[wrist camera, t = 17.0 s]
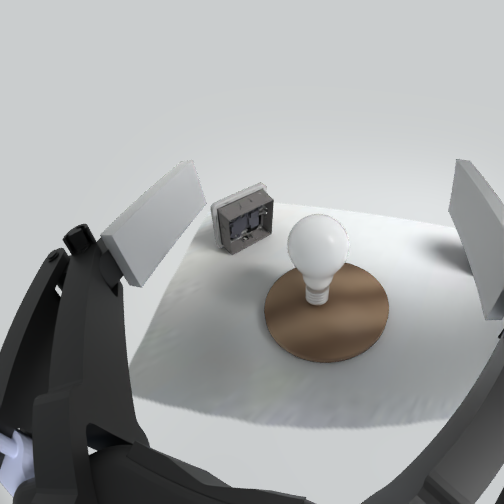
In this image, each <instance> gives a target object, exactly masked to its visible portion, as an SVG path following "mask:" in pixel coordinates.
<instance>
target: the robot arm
mask: <svg viewBox="0 0 504 504" xmlns="http://www.w3.org/2000/svg"><path fill="white" fill-rule="evenodd" d="M206 204H207V203H206V201H205V197H204V194H203V191H202V187H201V184H200V181H199V178H198V175H197V171H196V168H195V165H194V161H193V160H190V161H182V162H180V163H179V164H178V165H177V166H175V167H174V168H173V169H172V170H171V171H169V172H168V173H167V174H166V175H164V176H163V177H162V178H161V179H160V180H159V181H157V182H156V183H155V184H154V185H153V186H152V187H150V188H149V189H148V190H147V191H146V192H145V193H144V194H143V195H141V196H140V197H139V198H138V199H137V200H136V201H135V202H134V203H133V204H132V205H131V206H129V208H127V209H126V210H125V211H124V212H123V213H122V214H121V215H120V216H119V217H118V218H117V219H116V220H115V221H114V222H113V223H112V224H111V225H110V226H109V227H108V228H107V229H106V230H105V231H104V232H103V233H102V234H101V235H100V236H101V238H100V239H99V240H98V241H97V242H96V240H95V238H94V237H93V235H92V233H91V231H90V229H89V227H88V226H87V224H81V225H78V226H76V227H75V228H73V229H72V230H70V231H69V232H68V233H67V234H66V235H65V236H64V238H63V241H64V243H65V244H66V246H67V248H68V249H69V251H70V253H71V254H72V255H71V256H68V255H67V253H66V252H65V250H64V249H63V248H59V249H57V250H54V251H52V252H51V253H50V254H49V255H48V257H47V258H46V259H45V261H44V262H43V264H42V266H41V267H40V269H39V271H38V273H37V274H36V276H35V278H34V280H33V282H32V283H31V285H30V287H29V289H28V291H27V293H26V295H25V297H24V299H23V301H22V303H21V305H20V307H19V309H18V311H17V313H16V316H15V318H14V320H13V322H12V325H11V327H10V329H9V331H8V334H7V336H6V339H5V341H4V344H3V346H2V349H1V352H0V482H1V483H2V485H3V486H4V487H5V489H6V490H7V491H8V492H9V493H10V495H12V497H13V504H315V503H313V502H311V501H309V500H306V497H301V496H296V495H290V494H285V493H280V492H275V491H270V490H259V489H243V488H232V487H231V486H229V485H227V484H226V483H224V482H223V481H221V480H219V479H218V478H216V477H215V476H213V475H212V474H210V473H209V472H207V471H205V470H202V469H200V468H198V467H195V466H192V465H190V464H188V463H185V462H182V461H181V460H178V459H176V458H173V457H171V456H168V455H166V454H163V453H161V452H159V451H156V450H154V449H152V448H150V446H149V442H148V439H147V437H146V435H145V433H144V431H143V430H142V429H141V427H140V426H139V424H138V422H137V420H136V416H135V411H134V405H133V398H132V392H131V385H130V377H129V369H128V360H127V350H126V339H125V325H124V306H123V286H122V284H121V282H120V279H121V277H122V276H123V275H124V277H125V279H126V280H127V281H128V283H129V285H132V286H136V287H142V286H143V285H144V284H145V282H146V281H147V279H148V278H149V277H150V275H151V274H152V273H153V271H154V270H155V268H156V267H157V266H158V264H159V263H160V262H161V261H162V259H163V258H164V257H165V255H166V254H167V253H168V251H169V250H170V249H171V248H172V246H173V245H174V244H175V242H176V241H177V240H178V239H179V237H180V236H181V235H182V233H183V232H184V231H185V230H186V228H187V227H188V226H189V225H190V223H191V222H192V221H193V220H194V218H195V217H196V216H197V215H198V213H199V212H200V211H201V210H202V209H203V207H204V206H205V205H206ZM449 213H450V215H451V218H452V220H453V222H454V225H455V227H456V229H457V232H458V234H459V237H460V239H461V242H462V244H463V247H464V250H465V253H466V255H467V258H468V261H469V264H470V267H471V270H472V273H473V276H474V280H475V283H476V286H477V290H478V293H479V297H480V301H481V305H482V309H483V313H484V317H485V320H502V318H503V317H504V204H503V203H502V201H501V200H500V198H499V197H498V196H497V194H496V193H495V192H494V190H493V189H492V188H491V186H490V185H489V184H488V182H487V181H486V180H485V179H484V177H483V176H482V175H481V174H480V172H479V171H478V170H477V169H476V168H475V166H474V165H473V164H472V163H471V162H470V161H467V160H460V159H456V166H455V174H454V181H453V187H452V193H451V199H450V205H449ZM56 285H58V287H59V288H60V289H61V291H62V295H61V297H60V296H59V294H58V293H57V292H56V290H55V287H56ZM498 338H500V340H499V342H498V344H497V346H496V348H495V350H494V352H493V354H492V355H491V357H490V359H489V361H488V363H487V364H486V366H485V368H484V370H483V371H482V373H481V375H480V376H479V378H478V379H477V381H476V383H475V384H474V386H473V387H472V389H471V390H470V392H469V393H468V395H467V396H466V398H465V399H464V401H463V402H462V403H461V405H460V406H459V408H458V409H457V410H456V412H455V413H454V414H453V416H452V417H451V418H450V420H449V421H448V422H447V423H446V425H445V426H444V427H443V428H442V430H441V431H440V432H439V433H438V434H437V436H436V437H435V438H434V439H433V440H432V441H431V443H430V444H429V445H428V446H427V447H426V448H425V449H424V450H423V451H422V452H421V454H420V455H419V456H418V457H417V458H416V459H415V460H414V461H413V462H412V463H411V464H410V465H409V466H408V467H407V468H406V469H405V470H404V471H403V472H402V473H401V474H400V475H398V476H397V477H396V478H395V479H394V480H393V481H392V482H391V483H389V484H388V485H387V486H386V487H384V488H382V489H381V490H379V491H378V492H376V493H375V494H373V495H372V496H370V497H369V498H368V499H366V500H365V501H364V502H362V503H361V504H475V502H476V501H477V500H478V499H479V497H480V496H481V494H482V493H483V492H484V491H485V489H486V488H487V487H488V486H489V484H490V483H491V481H492V480H493V479H494V477H495V476H496V474H497V473H498V471H499V470H500V468H501V467H502V465H503V464H504V329H503V331H502V332H501V334H500V335H499V336H498ZM17 428H20V430H19V429H17ZM87 446H88V447H91V448H93V449H95V450H97V452H95V453H93V454H91V455H89V454H88V447H87ZM495 504H504V488H503V490H502V492H501V494H500V495H499V497H498V499H497V501H496V503H495Z"/></svg>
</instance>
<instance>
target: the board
mask: <svg viewBox="0 0 504 504" xmlns="http://www.w3.org/2000/svg"><path fill="white" fill-rule="evenodd" d="M264 313H265V319H266V324H267V327H268V330H269V332H270V334H271V335H272V337H273V338H274V340H275V341H276V342H277V343H278V344H279V345H280V346H281V347H282V348H283V349H285V350H286V351H287V352H289V353H291V354H292V355H294V356H296V357H299V358H301V359H304V360H308V361H312V362H320V363H332V362H340V361H344V360H348V359H351V358H353V357H356V356H358V355H360V354H361V353H363V352H365V351H366V350H368V349H369V348H370V347H371V346H372V345H373V344H374V343H375V342H376V341H377V340H378V339H379V337H380V336H381V334H382V332H383V330H384V328H385V325H386V322H387V319H388V313H389V303H388V298H387V295H386V293H385V291H384V289H383V287H382V286H381V284H380V283H379V282H378V280H377V279H376V278H375V277H373V276H372V275H371V274H370V273H368V272H367V271H365V270H363V269H361V268H359V267H357V266H354V265H352V264H348V263H344V265H343V266H342V267H341V268H340V269H339V270H338V271H337V272H336V273H335V274H334V276H333V279H332V281H331V283H330V285H329V296H328V300H327V302H326V303H324V304H322V305H312V304H310V303H308V302H307V300H306V284H305V282H304V280H303V276H302V274H301V272H300V271H299V270H298V269H297V268H294V269H292V270H290V271H288V272H287V273H285V274H284V275H283V276H281V277H280V278H279V279H278V280H277V281H276V282H275V283H274V285H273V286H272V287H271V289H270V291H269V293H268V295H267V297H266V301H265V308H264Z"/></svg>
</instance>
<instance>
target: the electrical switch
mask: <svg viewBox="0 0 504 504" xmlns="http://www.w3.org/2000/svg"><path fill="white" fill-rule="evenodd" d="M266 188H267V187H266V185H264V184H263V183H261V182H260V183H258V184H255V185H253V186H251V187H248V188H246V189H244V190H242V191H239V192H237V193H235V194H232V195H230V196H228V197H226V198H224V199H221V200H219V201H217V202H215V203H213V204H212V205H211V214H212V221H213V227H214V233H215V239H216V244H217V246H218V247H219V248H222V247H225V248H226V249H227V250H228V251H229V252H230V253H231V254H232V255H234V254H235V253H237V252H239V251H241V250H243V249H245V248H247V247H248V246H250V245H252V244H254V243H256V242H258V241H259V240H261V239H263V238H265V237H267V236H269V235H270V233H272V218H273V202H274V200H273V199H272V198H271V197H270V196H269V195H268V194H267V193H266ZM266 208H267V209H266ZM266 212H267V214H266ZM268 231H269V232H270V233H269V232H268ZM250 234H251V235H252V236H251V235H250ZM244 236H248V237H249V239H248V240H245V239H243V238H242V237H244ZM252 237H253V238H252ZM241 240H242V241H241Z"/></svg>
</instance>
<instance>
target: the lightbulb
mask: <svg viewBox="0 0 504 504" xmlns="http://www.w3.org/2000/svg"><path fill="white" fill-rule="evenodd" d="M287 249H288V254H289V257H290V260H291V262H292V263H293V265H294V266H295V267H296V268H297V269H298V270H299V271H300V272H301V274H302V276H303V280H304V282H305V284H306V300H307V302H308V303H310V304H312V305H322V304H324V303H326V302H327V300H328V296H329V285H330V283H331V281H332V279H333V276H334V274H335V273H336V272H337V271H338V270H339V269H340V268H341V267H342V266H343V265H344V263H345V262H346V260H347V257H348V254H349V249H350V243H349V237H348V234H347V232H346V230H345V228H344V227H343V226H342V224H341V223H340V222H338V221H337V220H336V219H334V218H332V217H330V216H328V215H323V214H314V215H309V216H307V217H304V218H303V219H301V220H300V221H298V222H297V223H296V224H295V225H294V227H293V228H292V230H291V232H290V234H289V237H288V242H287Z"/></svg>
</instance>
